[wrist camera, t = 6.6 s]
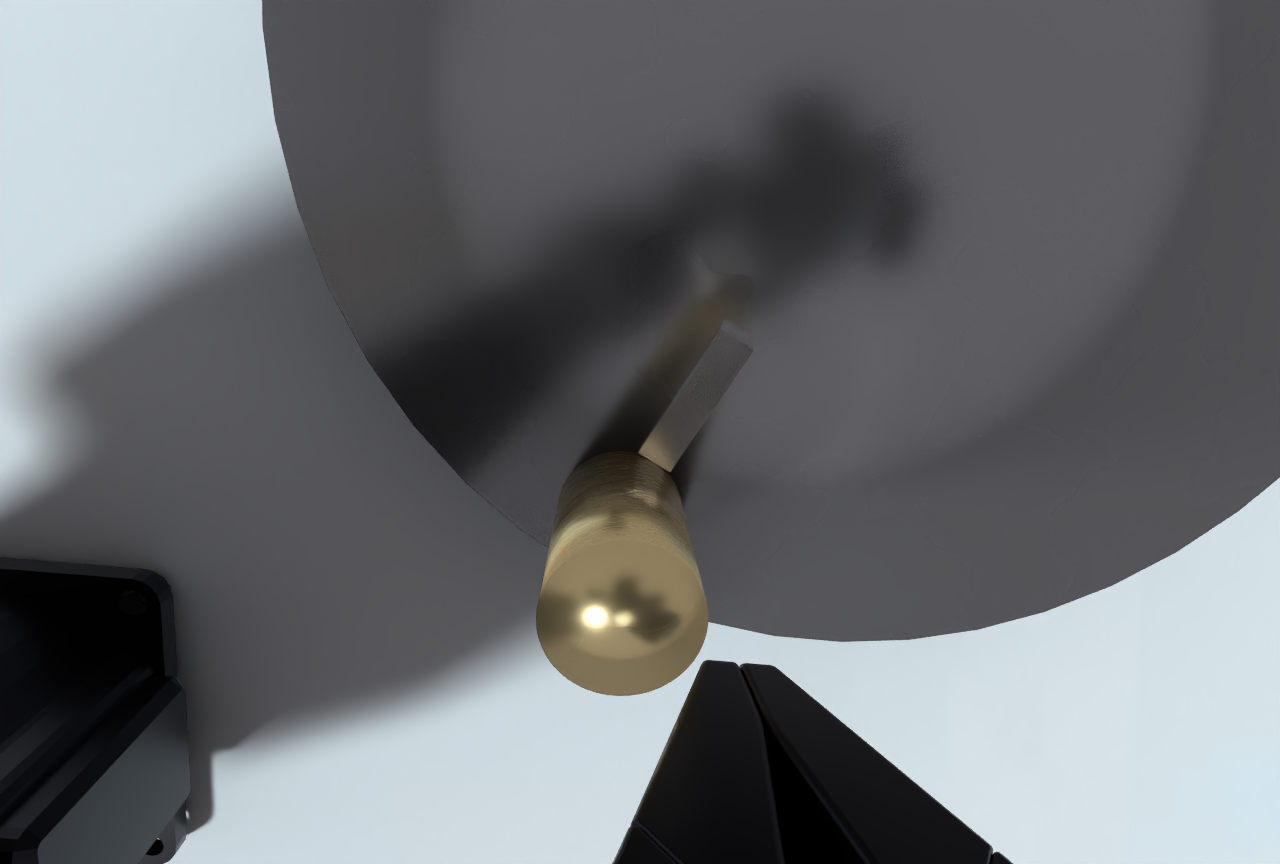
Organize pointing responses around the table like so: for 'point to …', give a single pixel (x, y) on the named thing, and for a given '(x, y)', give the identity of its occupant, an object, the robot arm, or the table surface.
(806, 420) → the turntable
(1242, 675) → the table surface
